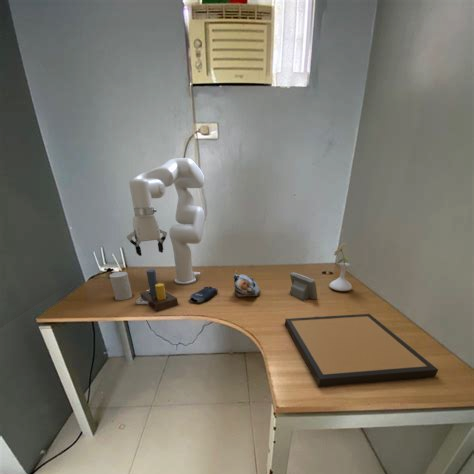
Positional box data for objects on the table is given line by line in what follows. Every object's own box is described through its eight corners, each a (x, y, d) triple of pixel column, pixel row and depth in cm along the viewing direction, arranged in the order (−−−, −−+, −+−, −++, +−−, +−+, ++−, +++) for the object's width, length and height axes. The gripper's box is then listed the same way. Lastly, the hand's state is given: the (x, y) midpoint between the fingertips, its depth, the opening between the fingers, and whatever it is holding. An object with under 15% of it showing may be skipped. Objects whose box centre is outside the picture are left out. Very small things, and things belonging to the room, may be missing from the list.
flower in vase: (339, 284, 143) (348, 238, 131) (356, 290, 134) (366, 242, 122) (321, 288, 138) (329, 241, 126) (337, 295, 129) (347, 245, 117)
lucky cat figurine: (265, 294, 130) (263, 276, 119) (247, 308, 127) (243, 290, 116) (247, 279, 138) (243, 260, 127) (230, 291, 135) (224, 273, 124)
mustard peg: (164, 302, 124) (161, 282, 119) (168, 304, 121) (165, 285, 116) (156, 304, 122) (153, 284, 117) (160, 307, 119) (157, 287, 114)
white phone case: (151, 304, 121) (161, 292, 134) (150, 301, 120) (160, 290, 134) (136, 304, 122) (147, 292, 135) (135, 301, 121) (147, 289, 134)
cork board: (318, 386, 71) (434, 377, 74) (320, 379, 70) (438, 369, 73) (285, 324, 103) (367, 319, 106) (285, 318, 101) (369, 313, 104)
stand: (161, 293, 133) (160, 287, 132) (178, 304, 121) (177, 298, 119) (141, 299, 127) (139, 292, 126) (156, 311, 115) (155, 304, 113)
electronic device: (202, 293, 136) (185, 300, 123) (204, 283, 134) (186, 289, 121) (217, 298, 133) (201, 306, 120) (219, 288, 131) (203, 295, 118)
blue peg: (157, 297, 129) (153, 268, 122) (161, 299, 126) (156, 270, 119) (150, 299, 127) (144, 270, 120) (153, 301, 124) (148, 272, 117)
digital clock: (318, 300, 124) (321, 279, 119) (302, 302, 121) (305, 281, 116) (300, 288, 137) (302, 269, 132) (285, 291, 135) (287, 271, 130)
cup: (126, 300, 126) (120, 277, 120) (111, 299, 127) (105, 276, 122) (135, 294, 133) (130, 272, 127) (121, 293, 134) (116, 271, 129)
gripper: (160, 210, 113) (165, 249, 120) (119, 213, 103) (128, 255, 111) (167, 211, 107) (172, 252, 115) (125, 214, 98) (133, 258, 106)
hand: (150, 253), depth 113 cm, fingers open, 9 cm apart
